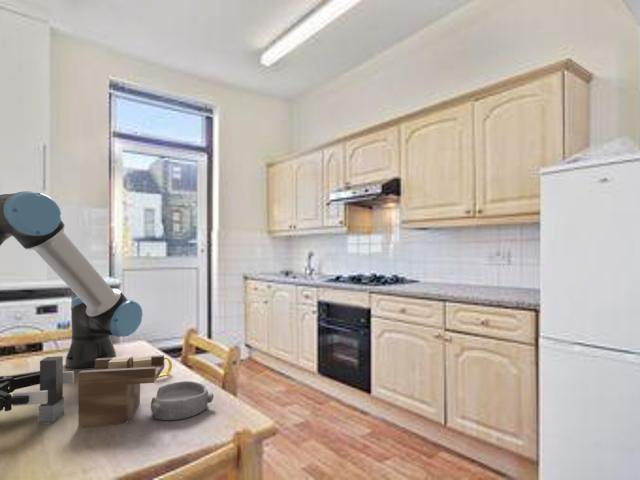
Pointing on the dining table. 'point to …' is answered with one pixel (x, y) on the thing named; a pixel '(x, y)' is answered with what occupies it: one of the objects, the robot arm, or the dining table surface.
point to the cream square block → (119, 363)
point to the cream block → (142, 361)
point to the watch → (168, 368)
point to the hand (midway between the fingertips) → (61, 386)
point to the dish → (180, 400)
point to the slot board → (113, 391)
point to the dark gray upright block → (51, 389)
